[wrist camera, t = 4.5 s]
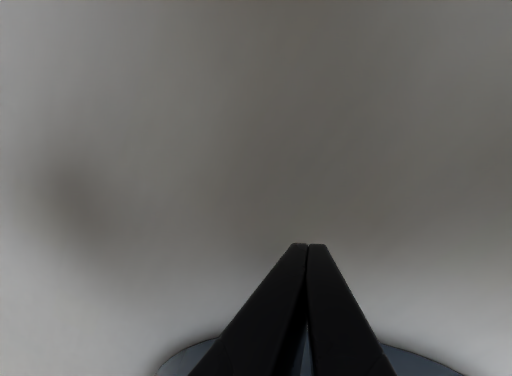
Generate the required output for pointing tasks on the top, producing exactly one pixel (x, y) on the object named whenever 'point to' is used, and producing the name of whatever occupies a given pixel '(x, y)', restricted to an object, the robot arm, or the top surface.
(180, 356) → the plate
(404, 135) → the top surface
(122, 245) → the top surface
